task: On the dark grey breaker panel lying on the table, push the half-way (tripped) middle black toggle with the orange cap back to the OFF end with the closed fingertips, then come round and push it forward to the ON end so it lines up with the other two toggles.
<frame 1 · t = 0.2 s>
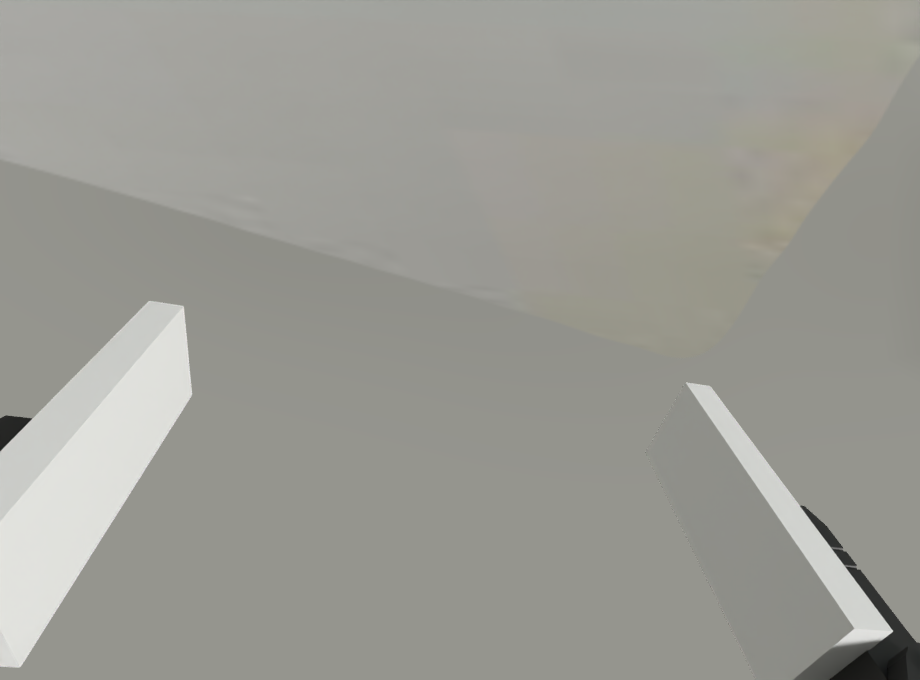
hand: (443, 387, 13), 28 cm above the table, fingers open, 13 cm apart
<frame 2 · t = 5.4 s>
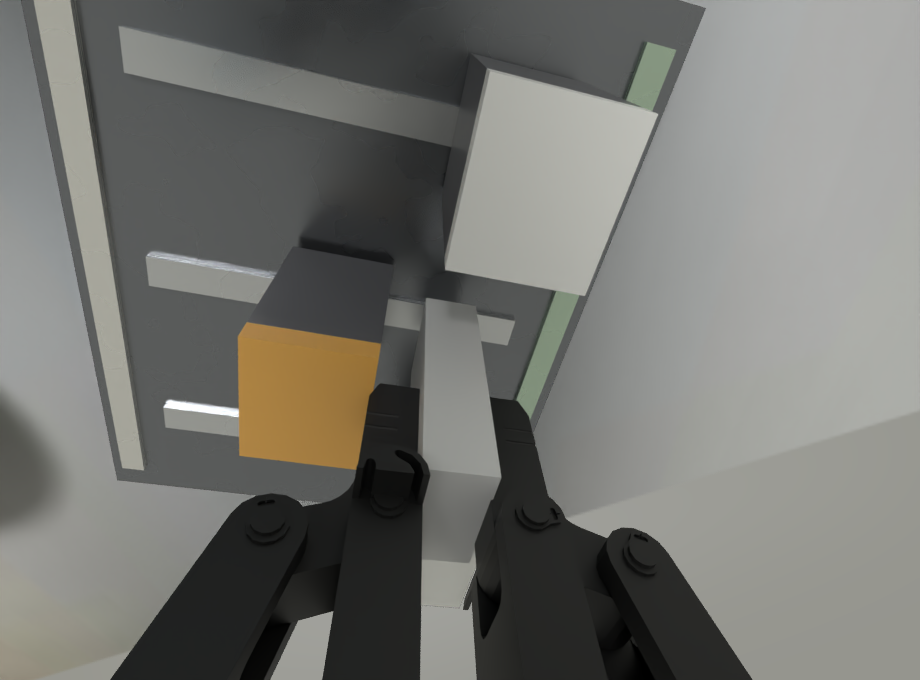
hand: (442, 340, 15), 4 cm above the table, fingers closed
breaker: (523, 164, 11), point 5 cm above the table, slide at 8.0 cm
panel: (349, 274, 18), on the table
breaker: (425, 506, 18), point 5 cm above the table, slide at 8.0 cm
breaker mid: (324, 350, 14), point 5 cm above the table, slide at 4.0 cm, touching gripper
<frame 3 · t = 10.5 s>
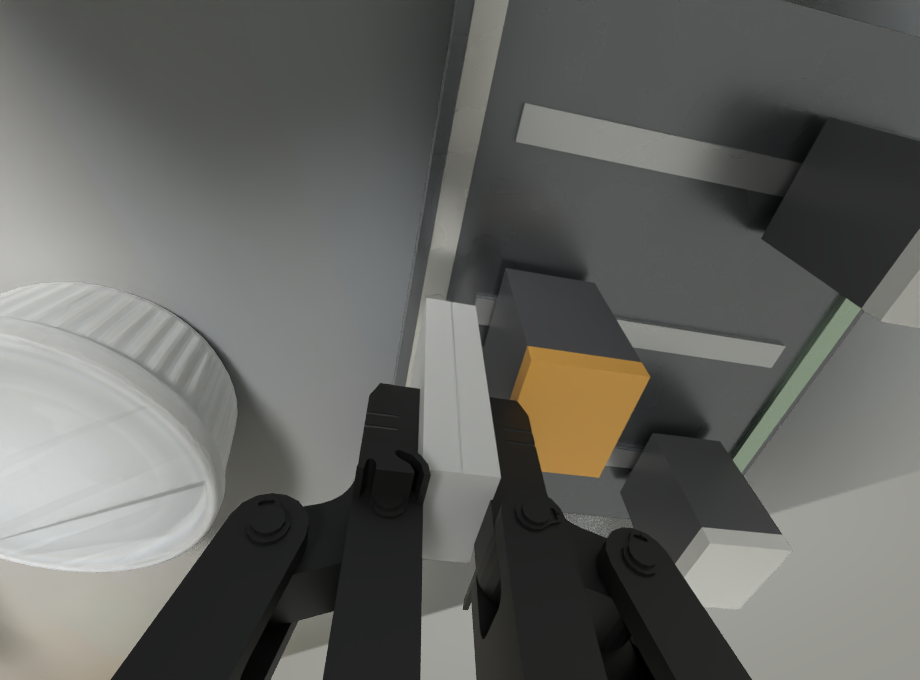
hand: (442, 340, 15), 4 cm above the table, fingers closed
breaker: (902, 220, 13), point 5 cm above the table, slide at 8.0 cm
panel: (614, 304, 20), on the table
ramekin: (124, 376, 21), on the table
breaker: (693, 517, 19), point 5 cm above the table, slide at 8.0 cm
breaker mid: (549, 366, 15), point 5 cm above the table, slide at 0.3 cm, touching gripper
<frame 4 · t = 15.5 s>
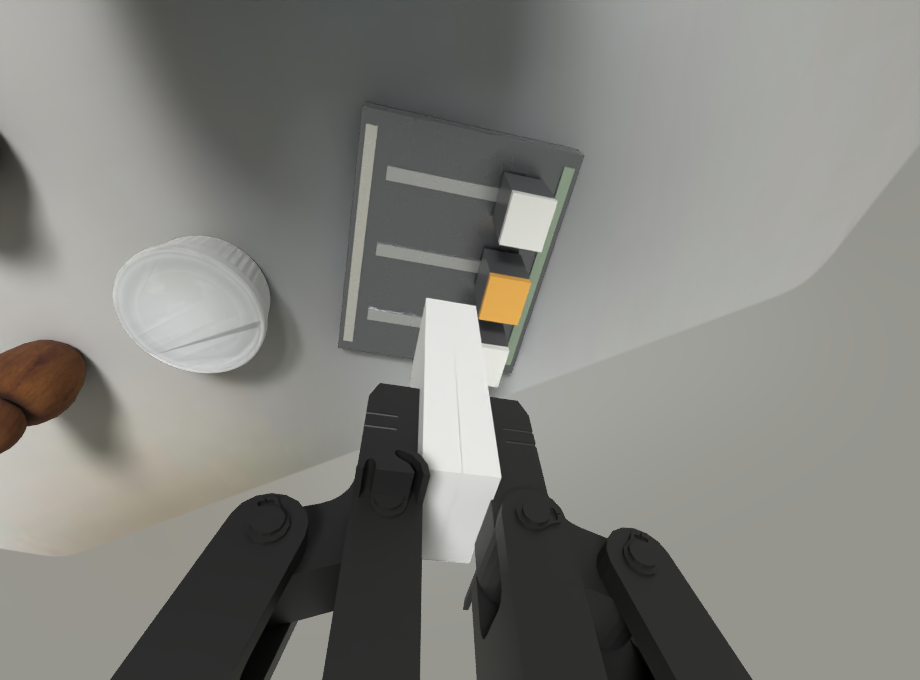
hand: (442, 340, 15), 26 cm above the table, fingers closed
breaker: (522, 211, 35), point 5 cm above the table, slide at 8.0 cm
panel: (448, 251, 42), on the table
wooden figurine: (60, 355, 46), on the table
ramekin: (215, 285, 43), on the table
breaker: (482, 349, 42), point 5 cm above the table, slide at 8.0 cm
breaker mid: (500, 286, 38), point 5 cm above the table, slide at 8.0 cm
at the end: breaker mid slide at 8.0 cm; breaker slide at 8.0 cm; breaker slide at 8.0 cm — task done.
